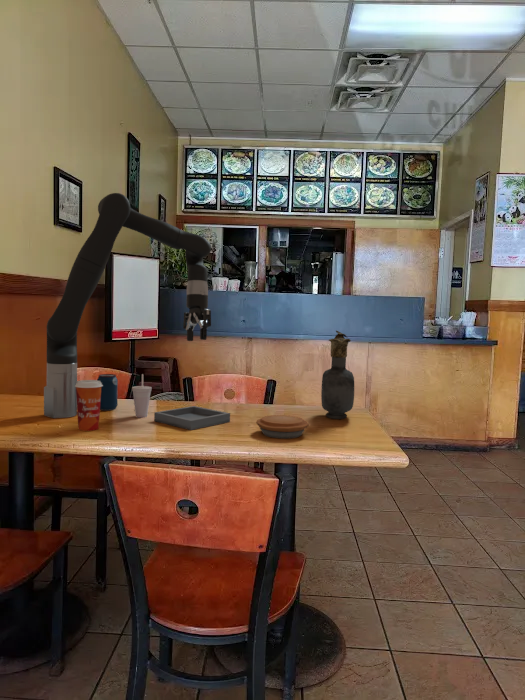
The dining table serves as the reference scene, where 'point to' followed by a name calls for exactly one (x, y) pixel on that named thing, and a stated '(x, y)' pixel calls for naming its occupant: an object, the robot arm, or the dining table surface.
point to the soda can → (108, 391)
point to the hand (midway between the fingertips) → (196, 340)
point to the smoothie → (141, 399)
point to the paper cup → (88, 404)
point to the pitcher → (338, 381)
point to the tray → (192, 417)
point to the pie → (282, 426)
